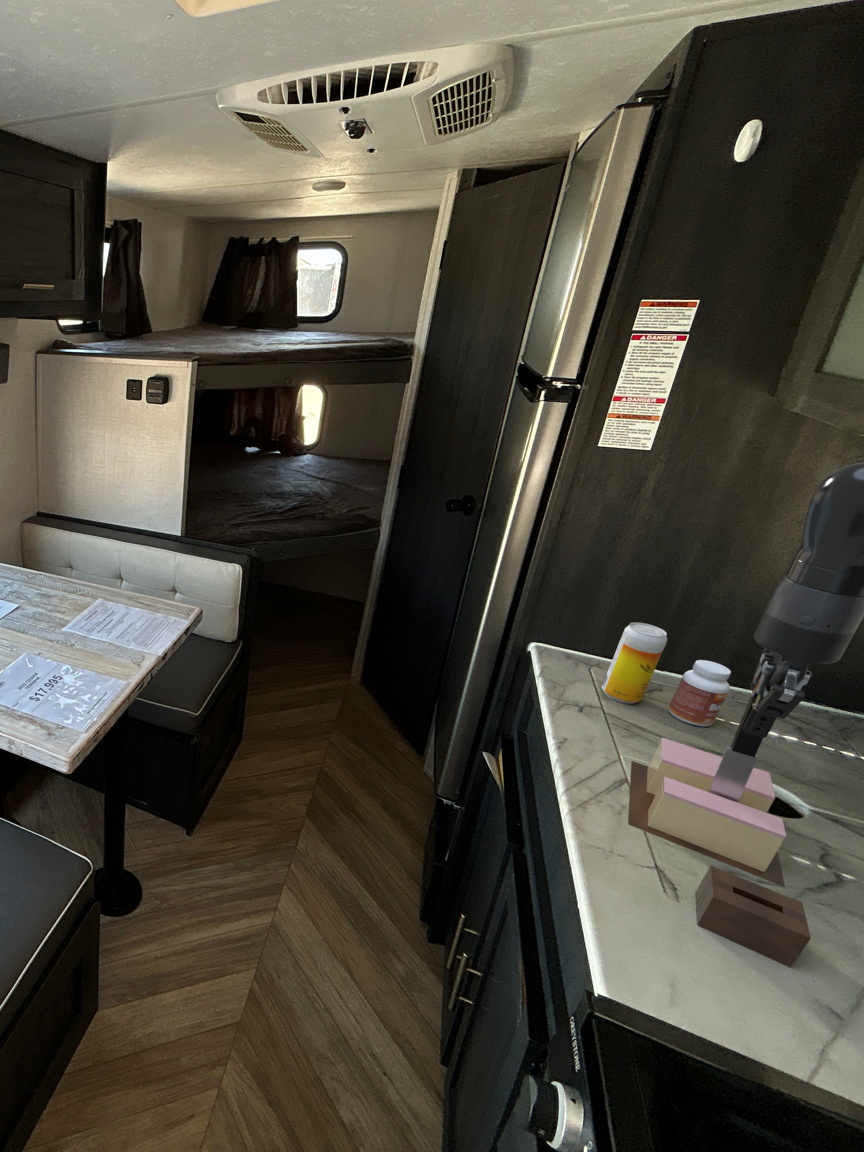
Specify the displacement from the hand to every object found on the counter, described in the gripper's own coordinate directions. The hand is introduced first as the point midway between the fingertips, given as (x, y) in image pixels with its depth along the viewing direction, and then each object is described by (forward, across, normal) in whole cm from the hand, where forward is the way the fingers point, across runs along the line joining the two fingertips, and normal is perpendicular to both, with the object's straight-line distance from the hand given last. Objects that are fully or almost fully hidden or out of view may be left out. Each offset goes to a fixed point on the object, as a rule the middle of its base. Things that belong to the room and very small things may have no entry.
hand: (752, 729), depth 85 cm
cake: (+18, +7, 0) cm, 19 cm away
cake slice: (+18, -3, 0) cm, 18 cm away
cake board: (+19, +3, 0) cm, 19 cm away
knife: (+13, 0, 0) cm, 13 cm away
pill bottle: (+19, +36, 0) cm, 41 cm away
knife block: (+19, -18, -3) cm, 26 cm away
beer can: (+19, +36, +10) cm, 42 cm away
